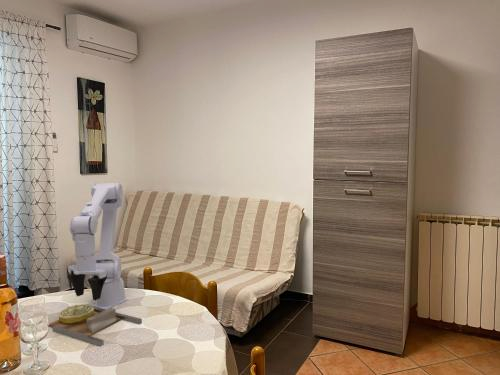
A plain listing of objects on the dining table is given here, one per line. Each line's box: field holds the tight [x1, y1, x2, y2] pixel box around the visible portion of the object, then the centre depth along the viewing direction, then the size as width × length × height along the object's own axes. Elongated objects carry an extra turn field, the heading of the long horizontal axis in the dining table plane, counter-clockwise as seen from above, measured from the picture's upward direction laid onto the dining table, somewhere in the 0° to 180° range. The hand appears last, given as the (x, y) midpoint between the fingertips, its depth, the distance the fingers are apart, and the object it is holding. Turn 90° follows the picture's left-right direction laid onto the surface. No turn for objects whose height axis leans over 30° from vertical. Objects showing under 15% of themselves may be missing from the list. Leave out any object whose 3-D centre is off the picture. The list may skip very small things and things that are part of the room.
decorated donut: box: [58, 304, 95, 325], centre depth 120 cm, size 10×11×4 cm
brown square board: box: [48, 307, 122, 337], centre depth 117 cm, size 18×13×5 cm
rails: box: [51, 307, 143, 347], centre depth 114 cm, size 16×21×2 cm
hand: (88, 297), depth 115 cm, fingers open, 7 cm apart
